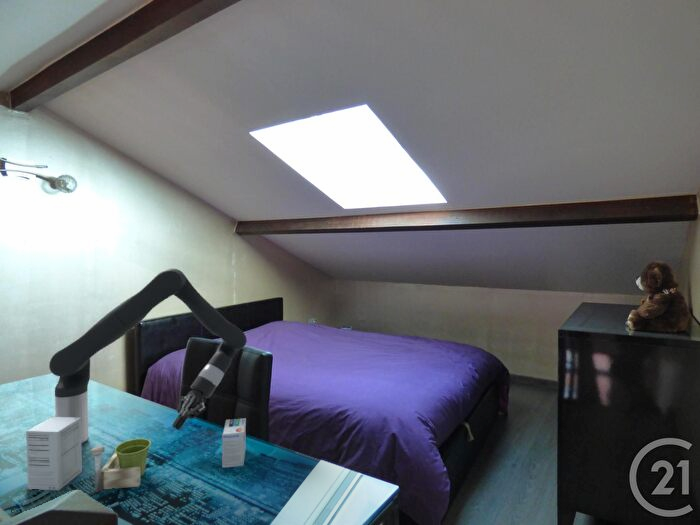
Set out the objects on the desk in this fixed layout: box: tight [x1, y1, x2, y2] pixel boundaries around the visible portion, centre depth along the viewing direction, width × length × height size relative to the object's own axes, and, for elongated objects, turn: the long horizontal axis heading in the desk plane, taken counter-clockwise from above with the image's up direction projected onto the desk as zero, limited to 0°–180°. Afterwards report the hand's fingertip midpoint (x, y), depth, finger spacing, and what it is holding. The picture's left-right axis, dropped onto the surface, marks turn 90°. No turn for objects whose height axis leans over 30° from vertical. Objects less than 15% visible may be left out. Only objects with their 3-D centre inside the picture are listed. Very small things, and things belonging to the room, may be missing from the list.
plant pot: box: [114, 438, 152, 477], centre depth 116 cm, size 9×9×9 cm
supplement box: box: [25, 416, 83, 491], centre depth 113 cm, size 10×9×17 cm
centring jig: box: [90, 445, 141, 493], centre depth 111 cm, size 14×10×12 cm
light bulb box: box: [221, 417, 247, 468], centre depth 126 cm, size 11×7×11 cm, turn 12°
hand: (175, 428), depth 127 cm, fingers closed
